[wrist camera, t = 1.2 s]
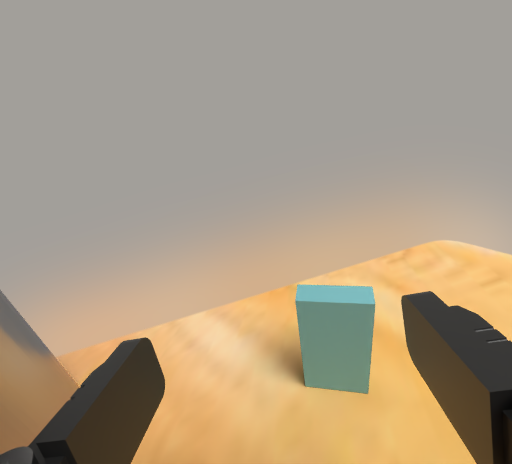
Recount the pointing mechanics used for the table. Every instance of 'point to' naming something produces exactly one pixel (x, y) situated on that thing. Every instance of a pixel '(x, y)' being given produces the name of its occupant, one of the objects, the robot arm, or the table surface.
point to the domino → (336, 335)
